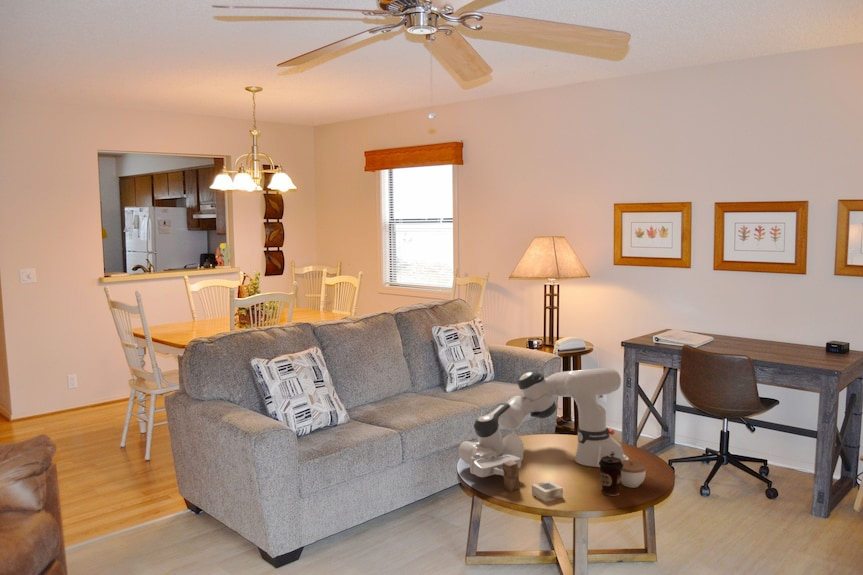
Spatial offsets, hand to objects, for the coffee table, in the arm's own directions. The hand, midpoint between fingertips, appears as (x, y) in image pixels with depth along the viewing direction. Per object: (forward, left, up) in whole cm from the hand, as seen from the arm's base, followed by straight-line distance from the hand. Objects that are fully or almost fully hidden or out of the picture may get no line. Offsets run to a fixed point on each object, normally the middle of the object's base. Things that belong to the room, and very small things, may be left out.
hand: (510, 471), depth 257 cm
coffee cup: (-33, +17, -7) cm, 37 cm away
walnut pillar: (-1, 0, -6) cm, 6 cm away
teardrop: (-14, -30, -6) cm, 33 cm away
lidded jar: (-45, +13, -7) cm, 47 cm away
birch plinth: (-10, +11, -7) cm, 16 cm away
